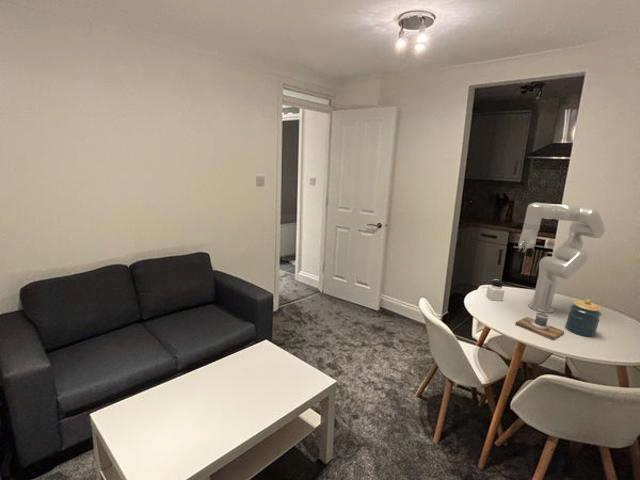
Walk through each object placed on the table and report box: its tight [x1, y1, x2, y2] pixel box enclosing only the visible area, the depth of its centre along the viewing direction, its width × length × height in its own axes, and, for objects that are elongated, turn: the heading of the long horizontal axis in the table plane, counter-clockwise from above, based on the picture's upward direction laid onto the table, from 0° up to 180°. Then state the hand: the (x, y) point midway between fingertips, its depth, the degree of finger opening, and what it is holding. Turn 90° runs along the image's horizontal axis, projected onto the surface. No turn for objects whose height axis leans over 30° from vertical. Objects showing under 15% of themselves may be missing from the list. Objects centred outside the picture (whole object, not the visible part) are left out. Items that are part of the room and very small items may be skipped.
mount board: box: [515, 316, 565, 341], centre depth 181 cm, size 13×18×3 cm
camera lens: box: [534, 312, 549, 326], centre depth 180 cm, size 5×5×5 cm
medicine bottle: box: [485, 279, 505, 302], centre depth 217 cm, size 7×7×12 cm
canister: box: [565, 298, 602, 338], centre depth 181 cm, size 13×13×18 cm
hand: (524, 257), depth 193 cm, fingers open, 9 cm apart
